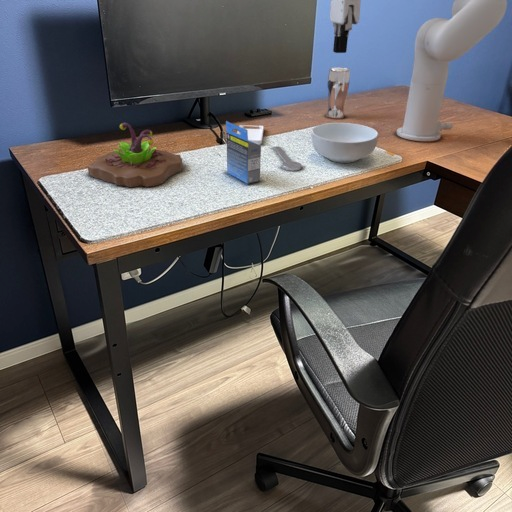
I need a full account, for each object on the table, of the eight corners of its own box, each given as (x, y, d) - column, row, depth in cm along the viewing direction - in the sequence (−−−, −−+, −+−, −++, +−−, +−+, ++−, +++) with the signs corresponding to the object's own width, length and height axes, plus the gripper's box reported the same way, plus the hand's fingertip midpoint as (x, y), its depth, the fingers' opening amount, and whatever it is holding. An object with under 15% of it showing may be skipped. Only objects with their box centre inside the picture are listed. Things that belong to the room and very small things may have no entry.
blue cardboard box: (261, 181, 111) (262, 127, 105) (247, 184, 109) (247, 130, 103) (239, 169, 117) (239, 118, 111) (225, 172, 115) (225, 120, 109)
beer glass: (348, 115, 164) (354, 68, 157) (340, 120, 159) (345, 71, 151) (329, 112, 167) (334, 66, 160) (321, 116, 162) (325, 69, 155)
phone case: (261, 145, 134) (263, 130, 147) (261, 140, 133) (263, 125, 146) (234, 144, 134) (239, 129, 147) (234, 139, 134) (239, 124, 147)
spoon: (284, 148, 132) (284, 145, 132) (303, 170, 118) (303, 167, 117) (268, 148, 132) (268, 146, 131) (285, 171, 117) (285, 168, 117)
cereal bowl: (309, 146, 134) (311, 120, 131) (370, 149, 133) (374, 123, 130) (309, 167, 120) (312, 139, 116) (378, 171, 118) (382, 142, 115)
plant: (127, 152, 126) (122, 108, 121) (194, 163, 120) (192, 118, 114) (75, 178, 110) (66, 128, 105) (148, 192, 104) (143, 141, 98)
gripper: (373, -26, 117) (363, 56, 127) (349, -26, 130) (342, 48, 139) (344, -26, 116) (336, 56, 125) (323, -27, 128) (317, 48, 138)
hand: (339, 52), depth 132 cm, fingers closed
